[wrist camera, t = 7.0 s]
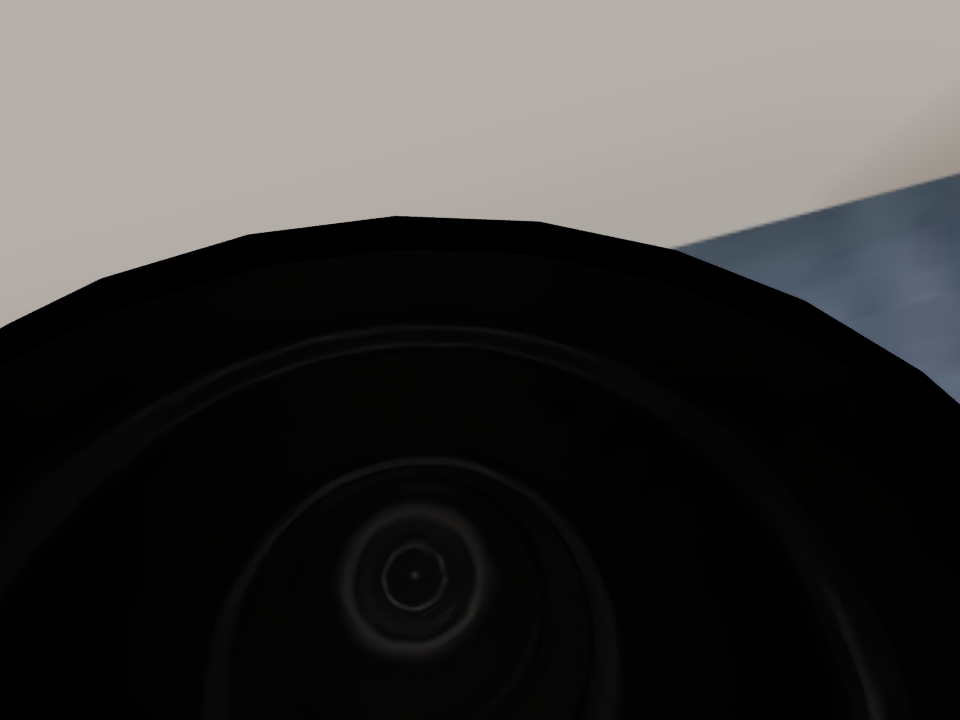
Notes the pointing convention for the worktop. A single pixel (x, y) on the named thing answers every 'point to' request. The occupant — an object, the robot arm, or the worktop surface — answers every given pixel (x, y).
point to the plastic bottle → (468, 490)
